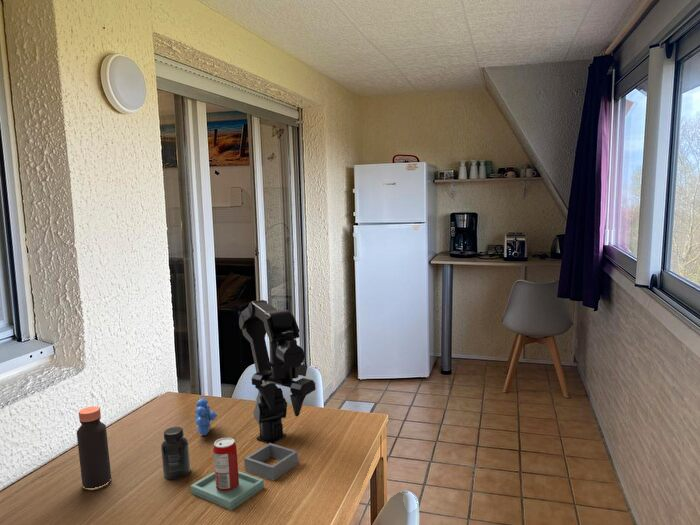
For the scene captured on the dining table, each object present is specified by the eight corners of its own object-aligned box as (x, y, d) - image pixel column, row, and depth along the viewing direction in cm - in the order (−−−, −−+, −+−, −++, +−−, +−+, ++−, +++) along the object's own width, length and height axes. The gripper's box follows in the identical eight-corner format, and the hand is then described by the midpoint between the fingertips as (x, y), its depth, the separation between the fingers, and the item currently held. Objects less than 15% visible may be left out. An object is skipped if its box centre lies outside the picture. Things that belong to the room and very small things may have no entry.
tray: (191, 493, 130) (190, 485, 130) (224, 472, 139) (224, 465, 139) (231, 509, 123) (230, 501, 122) (263, 487, 132) (263, 479, 131)
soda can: (238, 479, 134) (234, 434, 133) (240, 490, 129) (236, 443, 128) (215, 483, 133) (212, 438, 131) (216, 495, 128) (213, 447, 126)
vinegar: (117, 478, 139) (109, 405, 137) (100, 492, 132) (92, 416, 130) (94, 476, 140) (86, 404, 138) (76, 490, 134) (68, 414, 131)
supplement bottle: (195, 468, 142) (192, 426, 141) (180, 482, 136) (176, 437, 134) (174, 465, 145) (170, 423, 143) (157, 478, 138) (153, 434, 137)
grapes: (216, 442, 157) (213, 403, 156) (193, 444, 157) (190, 405, 155) (220, 425, 169) (218, 389, 167) (199, 427, 168) (196, 391, 167)
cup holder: (245, 470, 140) (244, 458, 140) (270, 454, 148) (269, 442, 148) (273, 480, 135) (272, 467, 134) (298, 463, 143) (297, 451, 142)
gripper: (326, 354, 144) (329, 408, 146) (276, 345, 155) (279, 396, 157) (300, 365, 135) (303, 424, 137) (248, 355, 146) (252, 409, 148)
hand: (284, 412), depth 145 cm, fingers open, 9 cm apart
